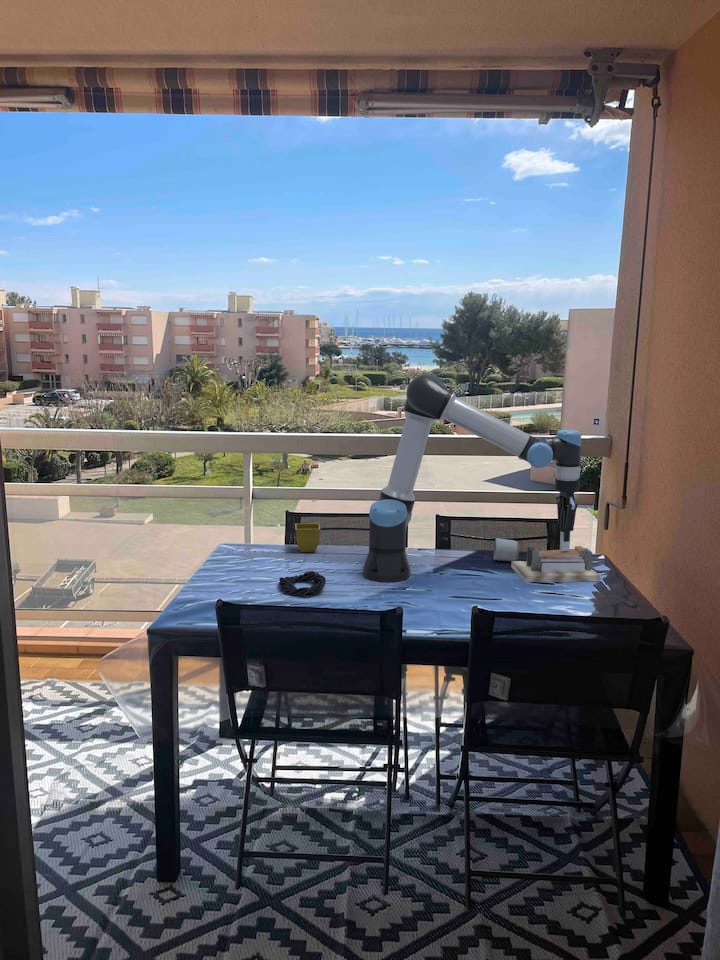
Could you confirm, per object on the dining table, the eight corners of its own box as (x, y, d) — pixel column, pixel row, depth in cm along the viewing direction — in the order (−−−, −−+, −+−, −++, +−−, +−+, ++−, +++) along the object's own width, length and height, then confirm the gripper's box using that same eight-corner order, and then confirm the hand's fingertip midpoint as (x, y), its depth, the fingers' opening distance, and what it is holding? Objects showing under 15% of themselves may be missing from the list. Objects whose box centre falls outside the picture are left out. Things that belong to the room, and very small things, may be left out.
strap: (533, 558, 241) (533, 552, 241) (530, 555, 245) (530, 549, 244) (584, 555, 242) (584, 548, 242) (580, 552, 246) (580, 545, 246)
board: (525, 581, 236) (525, 575, 236) (511, 566, 252) (511, 561, 251) (599, 581, 238) (599, 575, 237) (580, 566, 254) (581, 560, 253)
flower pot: (294, 547, 271) (294, 523, 269) (318, 547, 272) (319, 522, 270) (295, 554, 262) (295, 529, 260) (320, 553, 263) (320, 528, 261)
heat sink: (533, 573, 238) (535, 553, 237) (524, 563, 249) (525, 544, 248) (594, 572, 240) (595, 553, 239) (582, 563, 250) (583, 544, 249)
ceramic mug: (518, 564, 255) (520, 542, 254) (494, 562, 256) (495, 541, 255) (515, 556, 266) (517, 534, 264) (492, 554, 266) (493, 533, 265)
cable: (326, 598, 218) (326, 584, 217) (278, 599, 216) (278, 585, 216) (324, 580, 234) (324, 567, 234) (278, 581, 233) (278, 567, 232)
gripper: (586, 482, 233) (583, 555, 237) (571, 474, 246) (568, 544, 250) (563, 482, 232) (560, 556, 237) (549, 475, 245) (546, 545, 249)
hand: (564, 550), depth 243 cm, fingers closed
